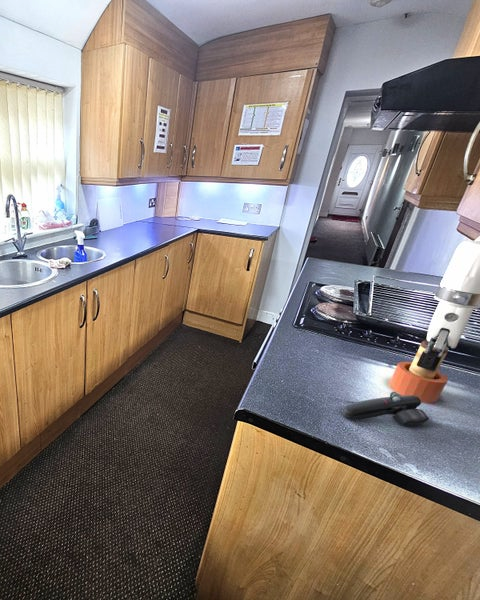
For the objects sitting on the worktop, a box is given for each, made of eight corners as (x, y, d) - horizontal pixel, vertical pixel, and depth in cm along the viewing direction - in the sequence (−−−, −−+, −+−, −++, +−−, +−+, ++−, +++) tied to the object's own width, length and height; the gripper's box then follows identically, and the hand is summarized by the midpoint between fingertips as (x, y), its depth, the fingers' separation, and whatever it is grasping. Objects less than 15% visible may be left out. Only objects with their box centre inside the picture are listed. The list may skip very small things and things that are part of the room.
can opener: (402, 405, 80) (411, 387, 77) (430, 427, 73) (441, 407, 71) (330, 407, 79) (337, 388, 77) (353, 429, 73) (361, 409, 71)
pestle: (418, 389, 86) (441, 342, 80) (428, 399, 82) (453, 351, 76) (396, 384, 87) (418, 339, 82) (405, 395, 83) (428, 347, 78)
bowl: (423, 387, 87) (434, 365, 84) (444, 409, 79) (457, 385, 77) (381, 380, 90) (391, 358, 87) (398, 400, 82) (409, 377, 80)
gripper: (486, 311, 66) (446, 385, 73) (482, 292, 77) (448, 358, 84) (434, 300, 71) (401, 370, 78) (437, 284, 82) (408, 346, 89)
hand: (426, 363), depth 81 cm, fingers closed on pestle, 4 cm apart
